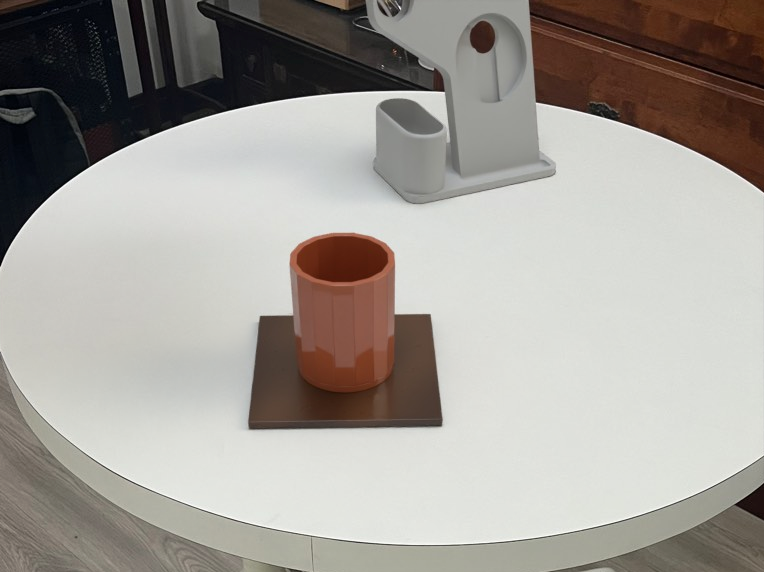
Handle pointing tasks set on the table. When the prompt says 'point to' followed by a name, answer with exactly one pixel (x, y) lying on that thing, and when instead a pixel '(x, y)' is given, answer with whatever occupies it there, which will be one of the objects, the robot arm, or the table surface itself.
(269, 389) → the coaster
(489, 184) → the phone holder
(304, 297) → the cup
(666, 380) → the table surface
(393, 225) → the table surface
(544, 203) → the table surface
